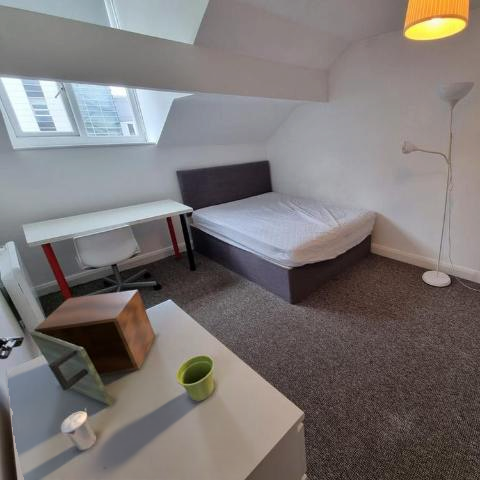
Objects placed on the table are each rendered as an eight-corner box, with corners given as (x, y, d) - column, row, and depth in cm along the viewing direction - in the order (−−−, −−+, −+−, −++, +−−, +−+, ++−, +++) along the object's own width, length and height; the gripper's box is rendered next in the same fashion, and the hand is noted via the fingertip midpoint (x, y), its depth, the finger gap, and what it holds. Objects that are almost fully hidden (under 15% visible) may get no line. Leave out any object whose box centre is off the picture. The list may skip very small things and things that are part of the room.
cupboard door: (89, 424, 67) (54, 368, 59) (40, 400, 74) (3, 347, 66) (113, 402, 73) (84, 348, 65) (65, 382, 79) (33, 330, 71)
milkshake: (107, 434, 65) (91, 407, 61) (82, 457, 61) (63, 430, 57) (96, 426, 67) (80, 399, 63) (71, 448, 63) (52, 421, 59)
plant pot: (188, 414, 69) (180, 392, 65) (180, 388, 76) (172, 366, 72) (224, 393, 74) (218, 371, 70) (213, 370, 81) (208, 349, 77)
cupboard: (138, 369, 82) (116, 318, 74) (65, 381, 79) (33, 329, 71) (155, 336, 95) (137, 289, 87) (92, 346, 92) (68, 298, 84)
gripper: (-124, 371, 48) (-15, 351, 65) (-48, 384, 49) (40, 361, 66) (-101, 328, 50) (-1, 320, 67) (-28, 341, 50) (53, 330, 67)
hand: (19, 341), depth 66 cm, fingers closed
